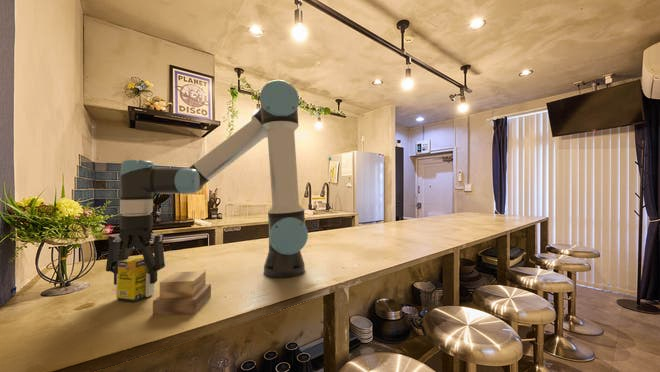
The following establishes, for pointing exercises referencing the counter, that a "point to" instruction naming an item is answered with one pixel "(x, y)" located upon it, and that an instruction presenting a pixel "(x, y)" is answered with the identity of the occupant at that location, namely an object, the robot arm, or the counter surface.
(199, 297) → the walnut base block
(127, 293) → the supplement box
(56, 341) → the counter surface
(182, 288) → the oak block
